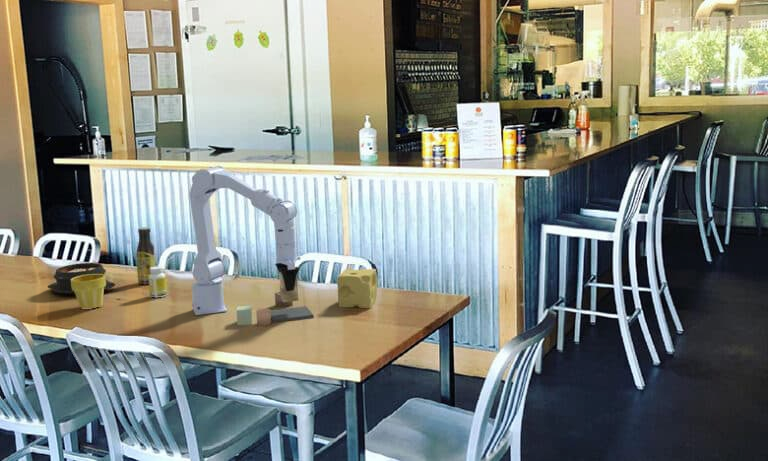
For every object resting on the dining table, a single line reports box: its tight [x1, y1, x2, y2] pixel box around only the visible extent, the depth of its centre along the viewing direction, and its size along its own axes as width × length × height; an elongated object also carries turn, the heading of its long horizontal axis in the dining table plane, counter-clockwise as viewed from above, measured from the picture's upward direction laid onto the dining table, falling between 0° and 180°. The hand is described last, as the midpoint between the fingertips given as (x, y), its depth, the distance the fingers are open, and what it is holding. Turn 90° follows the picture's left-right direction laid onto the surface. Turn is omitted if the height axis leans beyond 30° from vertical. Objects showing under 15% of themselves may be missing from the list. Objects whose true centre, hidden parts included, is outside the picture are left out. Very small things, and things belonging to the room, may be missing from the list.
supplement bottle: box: [148, 265, 168, 298], centre depth 260 cm, size 5×5×10 cm
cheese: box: [336, 268, 378, 309], centre depth 243 cm, size 10×11×10 cm
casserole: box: [47, 262, 116, 295], centre depth 272 cm, size 25×19×8 cm
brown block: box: [255, 308, 272, 327], centre depth 226 cm, size 4×4×4 cm
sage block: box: [236, 305, 253, 326], centre depth 228 cm, size 4×4×4 cm
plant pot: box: [71, 274, 107, 309], centre depth 250 cm, size 10×10×10 cm
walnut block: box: [274, 291, 294, 309], centre depth 244 cm, size 4×4×4 cm
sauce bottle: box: [135, 226, 156, 285], centre depth 278 cm, size 7×6×20 cm
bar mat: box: [270, 305, 314, 324], centre depth 233 cm, size 12×10×1 cm
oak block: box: [278, 271, 299, 302], centre depth 232 cm, size 4×4×8 cm
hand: (288, 288), depth 232 cm, fingers closed on oak block, 4 cm apart
